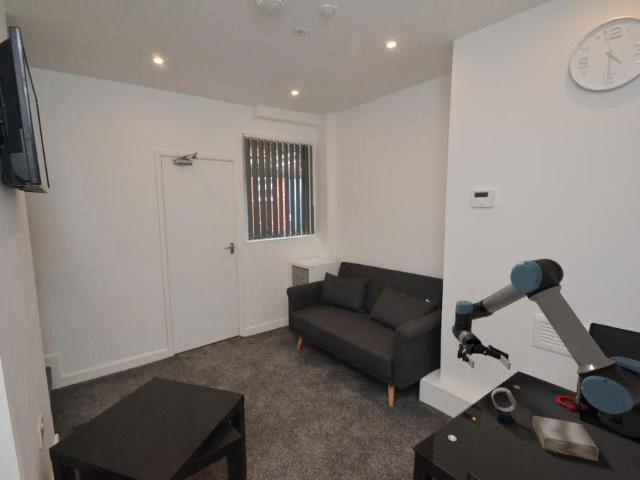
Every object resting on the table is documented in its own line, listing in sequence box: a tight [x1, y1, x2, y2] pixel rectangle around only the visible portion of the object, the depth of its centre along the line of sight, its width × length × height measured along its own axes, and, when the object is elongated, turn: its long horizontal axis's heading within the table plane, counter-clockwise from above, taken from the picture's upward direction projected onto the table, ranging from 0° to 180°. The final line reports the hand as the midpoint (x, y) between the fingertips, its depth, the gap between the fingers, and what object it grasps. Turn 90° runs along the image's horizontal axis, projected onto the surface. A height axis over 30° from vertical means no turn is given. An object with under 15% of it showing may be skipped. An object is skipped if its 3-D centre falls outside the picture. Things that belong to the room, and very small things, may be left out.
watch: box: [491, 386, 518, 425], centre depth 116 cm, size 6×8×11 cm
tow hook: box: [554, 375, 589, 412], centre depth 124 cm, size 8×13×9 cm
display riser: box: [532, 415, 600, 462], centre depth 104 cm, size 14×12×4 cm
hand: (491, 365), depth 125 cm, fingers open, 13 cm apart
